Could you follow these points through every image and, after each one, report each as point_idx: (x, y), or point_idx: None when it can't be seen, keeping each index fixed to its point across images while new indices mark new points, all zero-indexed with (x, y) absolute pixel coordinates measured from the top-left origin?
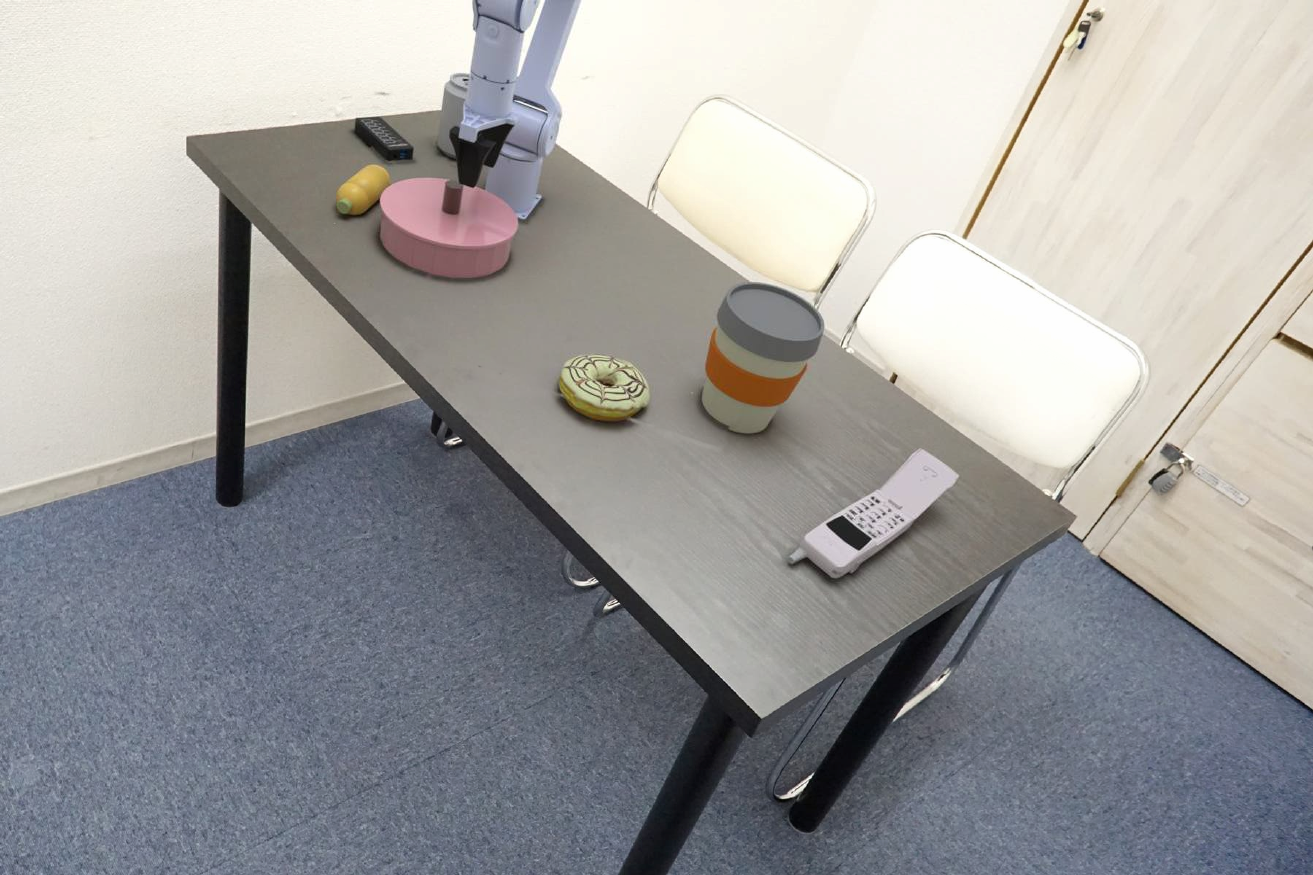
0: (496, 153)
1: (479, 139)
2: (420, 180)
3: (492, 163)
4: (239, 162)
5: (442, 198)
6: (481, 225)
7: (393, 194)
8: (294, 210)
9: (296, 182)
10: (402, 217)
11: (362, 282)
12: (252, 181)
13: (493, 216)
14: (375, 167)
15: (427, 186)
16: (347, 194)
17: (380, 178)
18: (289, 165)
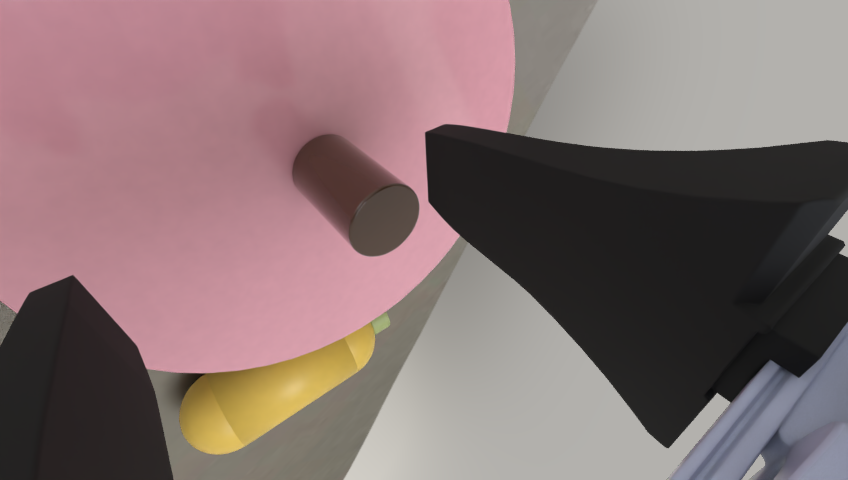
0: (72, 369)
1: (819, 272)
2: (235, 358)
3: (84, 304)
4: (330, 460)
5: (275, 243)
6: (327, 3)
7: (377, 297)
8: (385, 338)
9: (310, 416)
10: None
11: None
12: (360, 413)
13: (192, 8)
14: (246, 436)
15: (249, 322)
16: (374, 340)
17: (259, 397)
18: (273, 466)
